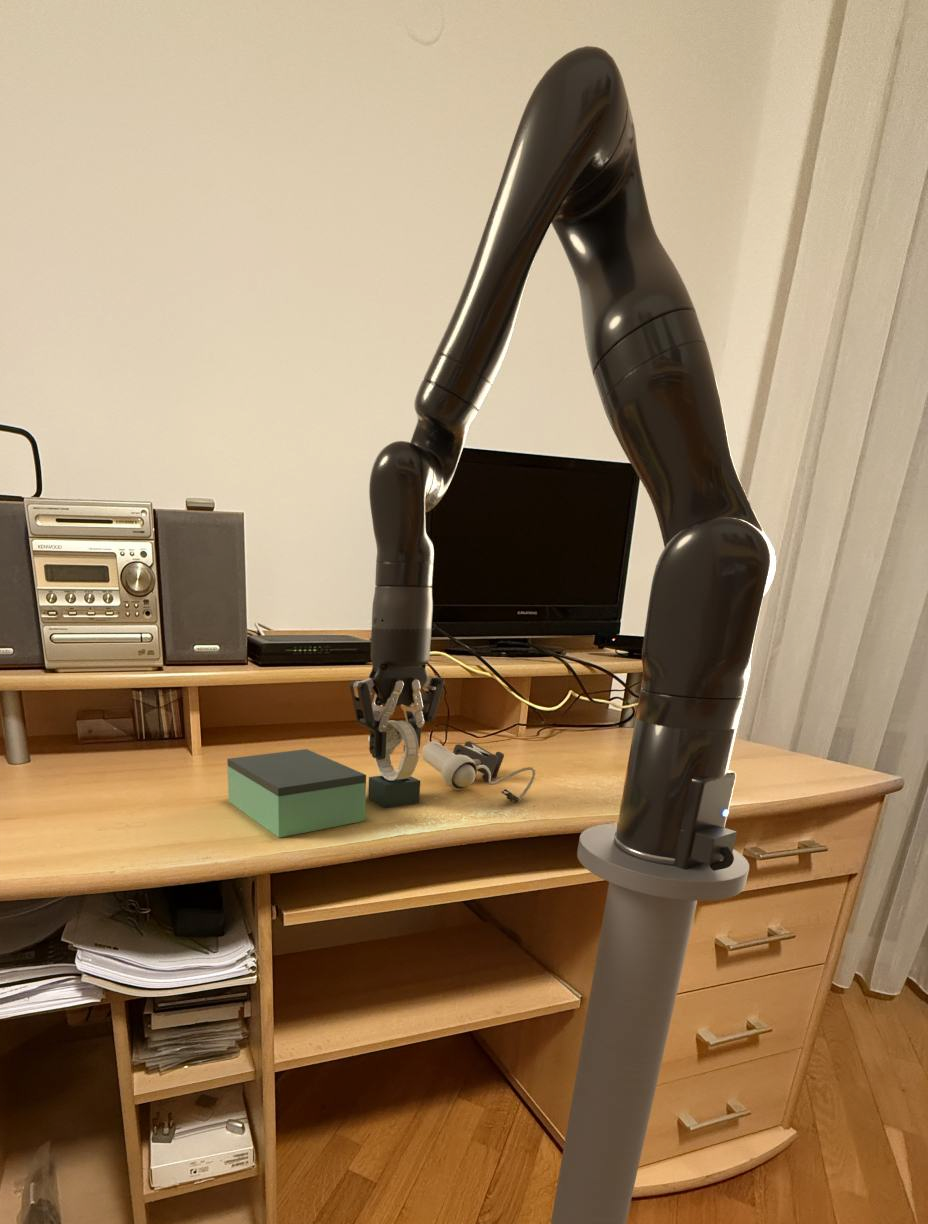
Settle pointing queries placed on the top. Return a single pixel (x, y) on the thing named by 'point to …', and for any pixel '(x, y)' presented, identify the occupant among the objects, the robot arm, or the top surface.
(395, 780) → the watch
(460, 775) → the clip-on lamp
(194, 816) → the top surface
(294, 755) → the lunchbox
